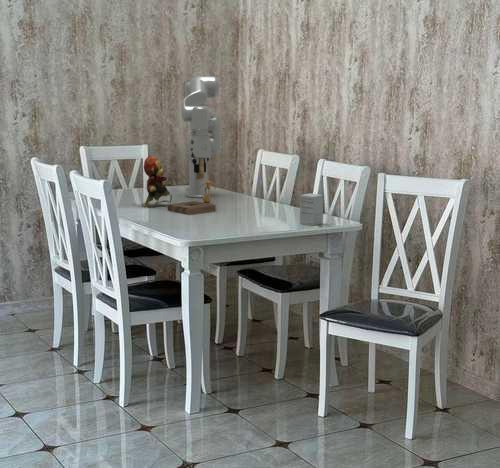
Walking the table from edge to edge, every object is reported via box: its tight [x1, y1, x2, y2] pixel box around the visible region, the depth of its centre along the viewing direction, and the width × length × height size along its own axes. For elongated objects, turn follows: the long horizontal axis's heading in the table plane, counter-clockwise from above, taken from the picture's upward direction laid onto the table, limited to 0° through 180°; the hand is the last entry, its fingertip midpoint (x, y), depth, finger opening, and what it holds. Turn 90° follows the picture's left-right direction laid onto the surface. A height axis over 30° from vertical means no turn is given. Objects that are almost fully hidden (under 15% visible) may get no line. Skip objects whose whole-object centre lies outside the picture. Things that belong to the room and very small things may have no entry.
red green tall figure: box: [143, 155, 172, 208], centre depth 400 cm, size 15×17×25 cm
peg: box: [196, 158, 204, 179], centre depth 389 cm, size 4×4×12 cm
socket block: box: [167, 200, 217, 216], centre depth 387 cm, size 16×16×3 cm
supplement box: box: [299, 192, 324, 226], centre depth 353 cm, size 7×7×13 cm
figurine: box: [200, 178, 217, 204], centre depth 411 cm, size 8×6×12 cm
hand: (200, 171), depth 389 cm, fingers closed on peg, 3 cm apart
